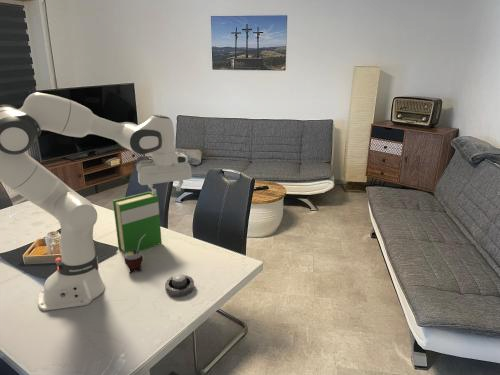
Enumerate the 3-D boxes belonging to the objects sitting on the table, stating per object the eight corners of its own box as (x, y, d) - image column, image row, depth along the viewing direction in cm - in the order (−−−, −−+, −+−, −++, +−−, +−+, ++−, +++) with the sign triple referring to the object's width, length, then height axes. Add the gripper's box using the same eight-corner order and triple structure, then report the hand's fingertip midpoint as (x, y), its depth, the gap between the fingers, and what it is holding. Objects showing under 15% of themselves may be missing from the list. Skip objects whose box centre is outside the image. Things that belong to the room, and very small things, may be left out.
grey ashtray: (169, 299, 137) (169, 293, 137) (163, 284, 146) (162, 278, 145) (197, 292, 142) (196, 286, 141) (189, 278, 150) (189, 272, 150)
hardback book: (125, 255, 167) (119, 205, 159) (118, 249, 172) (112, 200, 164) (161, 243, 178) (157, 195, 170) (154, 237, 183) (149, 191, 175)
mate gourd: (122, 271, 155) (118, 239, 150) (134, 262, 162) (131, 230, 156) (137, 275, 152) (133, 242, 147) (149, 266, 159) (146, 233, 154)
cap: (174, 293, 140) (173, 282, 139) (170, 285, 145) (169, 275, 144) (188, 289, 143) (188, 279, 141) (184, 281, 147) (184, 271, 146)
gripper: (137, 163, 136) (140, 199, 141) (192, 157, 144) (193, 191, 149) (134, 159, 142) (137, 193, 146) (187, 153, 150) (189, 186, 154)
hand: (166, 192), depth 148 cm, fingers open, 8 cm apart
